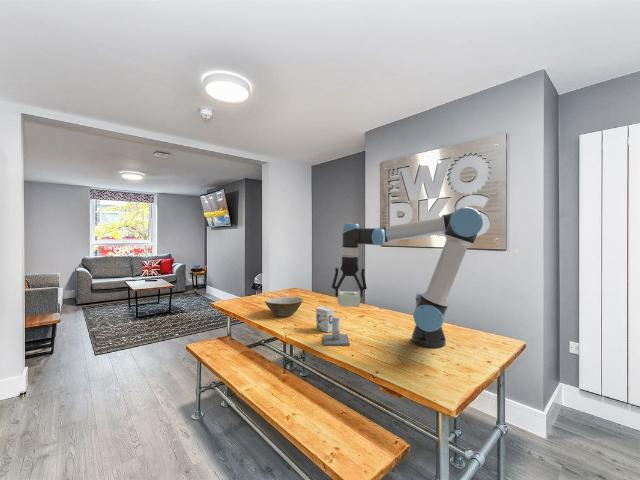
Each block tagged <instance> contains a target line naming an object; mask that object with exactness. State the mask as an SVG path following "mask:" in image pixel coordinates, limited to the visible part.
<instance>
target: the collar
mask: <svg viewBox="0 0 640 480" xmlns="http://www.w3.org/2000/svg"><path fill="white" fill-rule="evenodd" d="M360 304H361V297H360V296H359V294H358V291H342V290H340V300H339V304H338V305H339V307H343V308H344V307H345V308H346V307H347V308H348V307H349V308H350V307H351V308H352V307H353V308H360Z"/></svg>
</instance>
